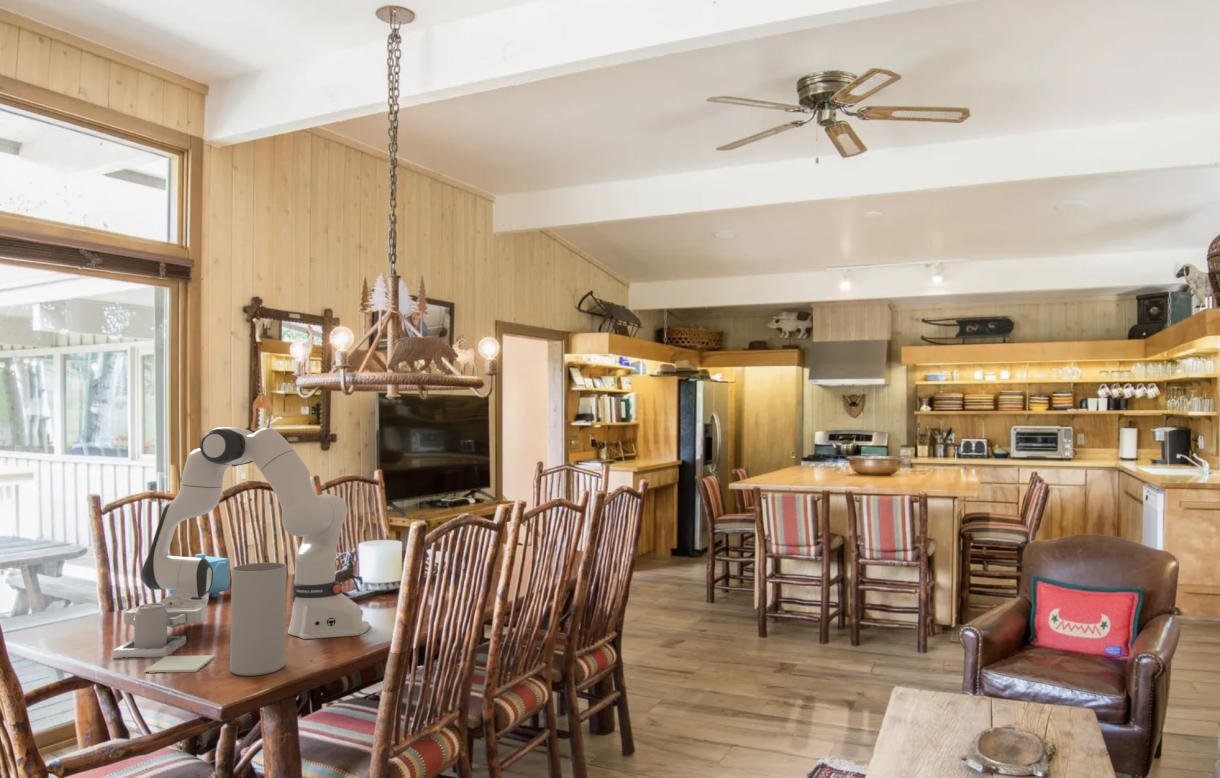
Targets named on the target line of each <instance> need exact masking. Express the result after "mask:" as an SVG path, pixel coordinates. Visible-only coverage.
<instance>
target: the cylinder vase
mask: <svg viewBox="0 0 1220 778" xmlns="http://www.w3.org/2000/svg"><path fill="white" fill-rule="evenodd" d="M287 568H288V565H287V564H285V563H282V562H253V563H245V564H240V565H239V564H238V565H236V566H233V567H232V568H231V586H230V587H231V588H230V589H231V590H230V592H231V594H230V596H231V598H230V646H229V648H230V649H229V671H230V672H231V673H232V674H234V675H236V676H244V677H253V676H255V677H256V676H262V675H268V674H271V673H276V672H278V671H280V670H281V669H283V667H284V666H285V664H286V620H287V619H286V618H287V615H286V614H287V613H286V612H287Z"/></svg>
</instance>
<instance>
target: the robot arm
mask: <svg viewBox="0 0 1220 778" xmlns="http://www.w3.org/2000/svg"><path fill="white" fill-rule="evenodd" d="M251 463H253V464H254V465H255V466H256V467H257V469H258V470H259V471H260V473H261V475H263V477H264V478H265V480H266V481H267V483H268V485H270V487H271V489H272V490H273V492H274V493H275V495H276V497H277V500H278V503H279V504H280V507H281V512H282V515H281V524H282V527H283V528H284V530H285V532H286V533H288V534H290V535H291V536H295V537H302V540H301V543H300V546H299V548H298V549H297V551H296V554H295V556H294V562H295V563H294V582H293V585H292V596H291V597H292V602H293V606H292V613H291V619H290V623H289V627H288V630H287V633H288V634H289V635H290V636H295V637H299V638H301V639H302V640H303V639H304V640H306V639H307V640H309V639H323V638H325V639H326V638H337V637H354V636H360V635H362V634H364V633H366V632H367V631H368V630H369V629H370V622H369V621H367V620H363V617H362V616H363V615H362V611H361V608H360V606H359V604H357V603H356V602H355V601H353V600H352V599H350V598H349V597H348V596H346V595H345V594H343V593H342V591H343V581H341V582H339V581H338V580H336V555H337V548H338V543H339V539H340V536H341V533H342V532H341V530H342V528H343V524H344V522H345V521H346V519H347V516H348V510H349V509H348V505H347V503H346V501H345V500H344V499H343V498H342V497H340V496H338V495H335V494H331V493H323V494H317V493H316V492H315V489H314V488H313V485H312V483H311V479H310V478H311V472H310V470H309V469H308V467H307V466H306V464H305V463H304V462H303V460H302V459H301V457H300V456H299V454H298V453H297V451H296V450H295V449H294V447H293V446H292V445H291V444H290V443H289V442H288V440H287V439H286V438H285V437H283V435H282V434H281V433H280V432H278V430H276V429H275V428H271V427H265V428H264V427H263V428H260V429H258V430H257V431H255V430H252V429H251V428H242V427H237V426H236V427H235V426H230V427H229V426H228V427H223V426H221V427H220V426H219V427H216V428H212V429H210V430H208V431H207V432H205V433H204V435H203V436H202V438H201V440H200V445H199V447H198V448H196V449H193V450H192V451H191V452H190V453H189V454H188V456H187V458H186V461H185V464H184V468H183V471H182V477H181V481H180V487H179V490H178V493H177V494H176V496H175V497H174V499H172V500H170V501H168V502H167V503H166V504H165V507H164V508H163V510H162V512H161V515H160V519H159V521H158V525H157V528H156V531H155V533H154V537H153V540H152V543H151V547H150V550H149V551H148V554H147V557H146V559H145V561H144V564H143V565H142V569H141V573H140V579H141V581H142V582H143V584H144V585H145V586H146V587H147V588H148V589H149V590H151V591H152V590H153V591H154V590H157V591H160V590H170V589H171V590H177V591H176V593H174V594H169V596H167V597H165V598H163V599H161V601H160V602H159V603H162V604H164V605H165V606H164V607H165V608H166V609H167V628H177V627H179V626H184V625H189V624H194V625H195V624H202V623H204V622H206V621H207V616H208V603H209V597H210V594H209V593H208V592H209V591H210V589H211V585H212V581H213V569H212V567H211V565H210V564H209V562H208V561H207V560H206V559H205V558H197V557H195V556H179V555H178V556H177V555H171V554H169V549H170V547H171V544H172V540H173V537H174V534H175V531H176V528H177V526H178V525H179V524H180V523H182V522H184V521H185V520H188V519H193V518H197V517H201V516H203V515H206V514H208V513H210V512H211V511H213V510H214V509H215V508H216V507H217V506H218V505H219V504H220V503H219V502H220V500H221V495H222V492H223V491H222V490H223V482H224V475H225V472H226V470H227V469H228V468H229V467H237V466H243V465H248V464H251ZM138 607H139V606H137V607H133V608H131V609H128V610H126V611H124V613H123V624H125V625H127V626H131V625H132V626H134V627H135V612H136V611H137V610H138V609H139V608H138Z"/></svg>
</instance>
